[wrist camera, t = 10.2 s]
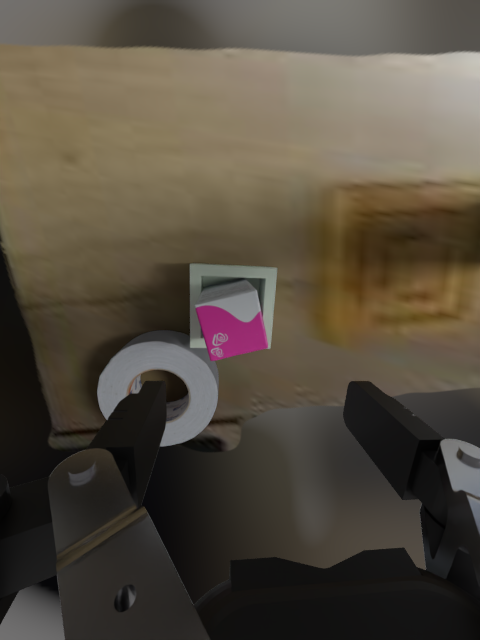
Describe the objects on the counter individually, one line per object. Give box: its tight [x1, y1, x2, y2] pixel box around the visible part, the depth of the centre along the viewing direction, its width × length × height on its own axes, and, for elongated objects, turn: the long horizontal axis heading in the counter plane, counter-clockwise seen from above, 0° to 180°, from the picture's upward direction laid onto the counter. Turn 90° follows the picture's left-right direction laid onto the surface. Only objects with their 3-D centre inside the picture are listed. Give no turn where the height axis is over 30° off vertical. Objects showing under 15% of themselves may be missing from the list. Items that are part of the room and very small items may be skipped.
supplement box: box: [195, 278, 268, 361], centre depth 26 cm, size 6×6×12 cm
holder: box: [190, 263, 277, 349], centre depth 30 cm, size 10×10×5 cm
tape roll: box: [97, 330, 219, 446], centre depth 33 cm, size 15×15×5 cm
